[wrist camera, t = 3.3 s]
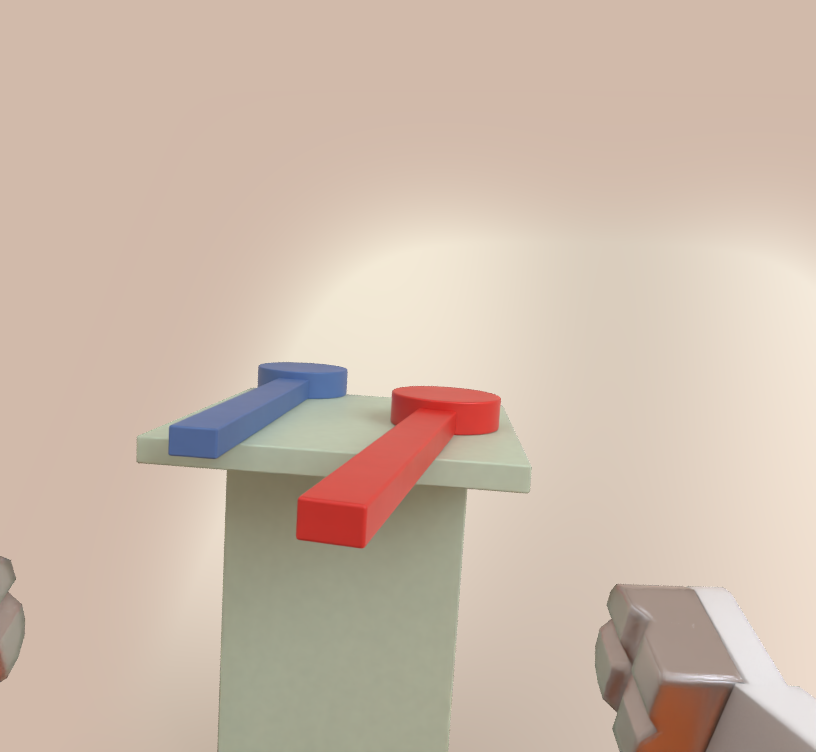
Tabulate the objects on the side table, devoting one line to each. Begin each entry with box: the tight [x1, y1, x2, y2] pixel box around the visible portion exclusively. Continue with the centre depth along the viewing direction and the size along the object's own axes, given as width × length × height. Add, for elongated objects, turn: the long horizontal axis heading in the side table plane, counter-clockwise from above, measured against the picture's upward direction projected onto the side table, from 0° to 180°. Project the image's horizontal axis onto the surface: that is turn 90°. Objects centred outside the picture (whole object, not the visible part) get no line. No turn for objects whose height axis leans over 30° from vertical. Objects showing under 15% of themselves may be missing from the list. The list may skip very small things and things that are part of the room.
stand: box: [137, 388, 532, 752], centre depth 32 cm, size 14×14×27 cm
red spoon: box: [296, 386, 501, 549], centre depth 24 cm, size 18×5×1 cm, turn 168°
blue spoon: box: [168, 362, 347, 459], centre depth 31 cm, size 18×5×1 cm, turn 176°
